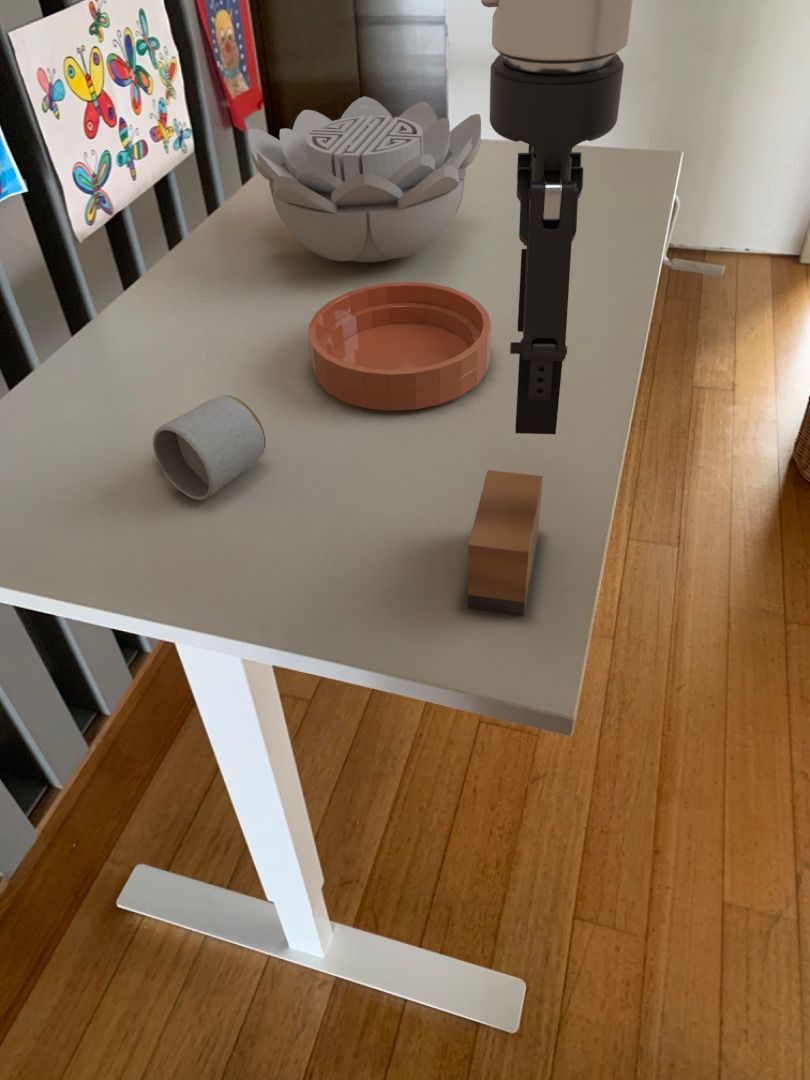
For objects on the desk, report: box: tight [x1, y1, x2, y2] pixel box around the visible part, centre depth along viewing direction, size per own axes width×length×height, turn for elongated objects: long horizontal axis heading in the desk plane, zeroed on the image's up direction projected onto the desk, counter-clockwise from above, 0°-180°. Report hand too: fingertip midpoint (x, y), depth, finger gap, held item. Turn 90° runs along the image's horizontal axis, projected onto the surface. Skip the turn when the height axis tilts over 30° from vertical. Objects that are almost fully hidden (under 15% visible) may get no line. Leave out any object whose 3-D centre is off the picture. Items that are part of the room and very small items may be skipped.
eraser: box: [467, 469, 544, 616], centre depth 68 cm, size 9×4×7 cm, turn 167°
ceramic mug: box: [152, 395, 267, 501], centre depth 79 cm, size 11×8×8 cm
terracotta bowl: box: [307, 281, 492, 412], centre depth 92 cm, size 20×20×5 cm
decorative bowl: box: [248, 96, 482, 263], centre depth 112 cm, size 30×30×15 cm
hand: (534, 376), depth 62 cm, fingers open, 13 cm apart
